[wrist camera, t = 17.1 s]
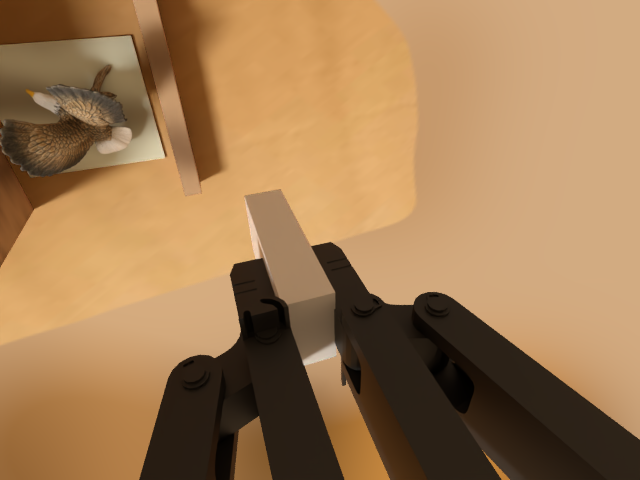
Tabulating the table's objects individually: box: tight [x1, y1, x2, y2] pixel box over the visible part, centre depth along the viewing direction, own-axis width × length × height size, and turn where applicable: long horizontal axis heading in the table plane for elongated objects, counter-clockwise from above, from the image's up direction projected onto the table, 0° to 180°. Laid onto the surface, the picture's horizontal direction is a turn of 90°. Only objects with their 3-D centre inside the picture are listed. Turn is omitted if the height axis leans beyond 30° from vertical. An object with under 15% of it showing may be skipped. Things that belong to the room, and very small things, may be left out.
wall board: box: [0, 0, 202, 267], centre depth 25 cm, size 24×16×10 cm, turn 2°
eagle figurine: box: [0, 65, 132, 177], centre depth 28 cm, size 8×7×9 cm
